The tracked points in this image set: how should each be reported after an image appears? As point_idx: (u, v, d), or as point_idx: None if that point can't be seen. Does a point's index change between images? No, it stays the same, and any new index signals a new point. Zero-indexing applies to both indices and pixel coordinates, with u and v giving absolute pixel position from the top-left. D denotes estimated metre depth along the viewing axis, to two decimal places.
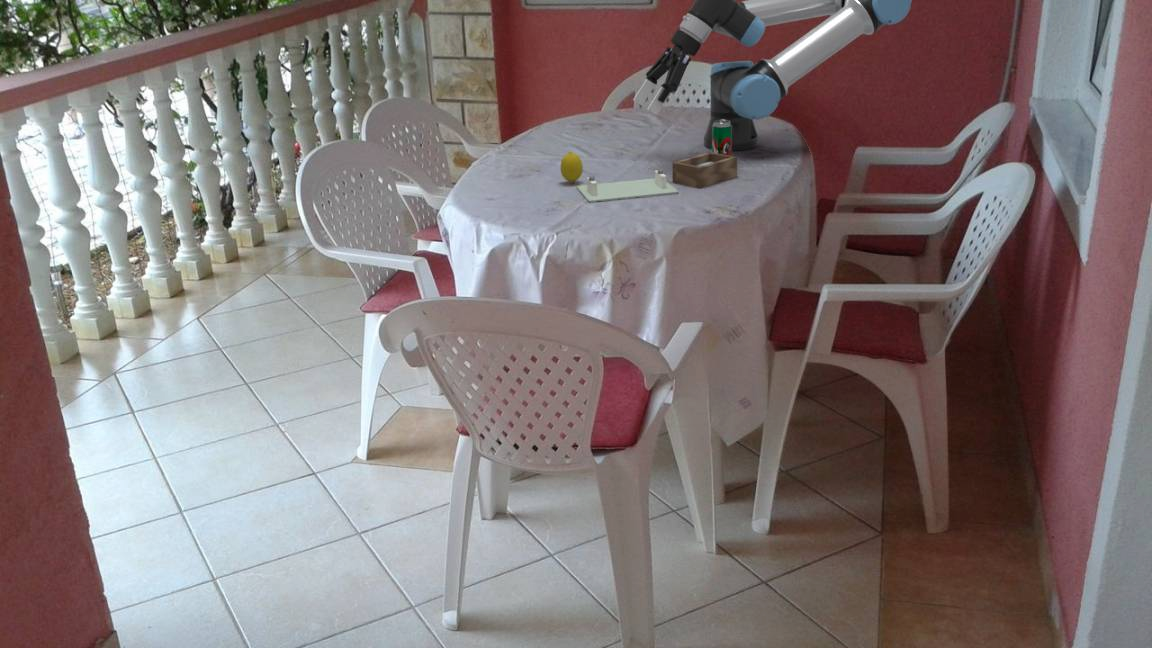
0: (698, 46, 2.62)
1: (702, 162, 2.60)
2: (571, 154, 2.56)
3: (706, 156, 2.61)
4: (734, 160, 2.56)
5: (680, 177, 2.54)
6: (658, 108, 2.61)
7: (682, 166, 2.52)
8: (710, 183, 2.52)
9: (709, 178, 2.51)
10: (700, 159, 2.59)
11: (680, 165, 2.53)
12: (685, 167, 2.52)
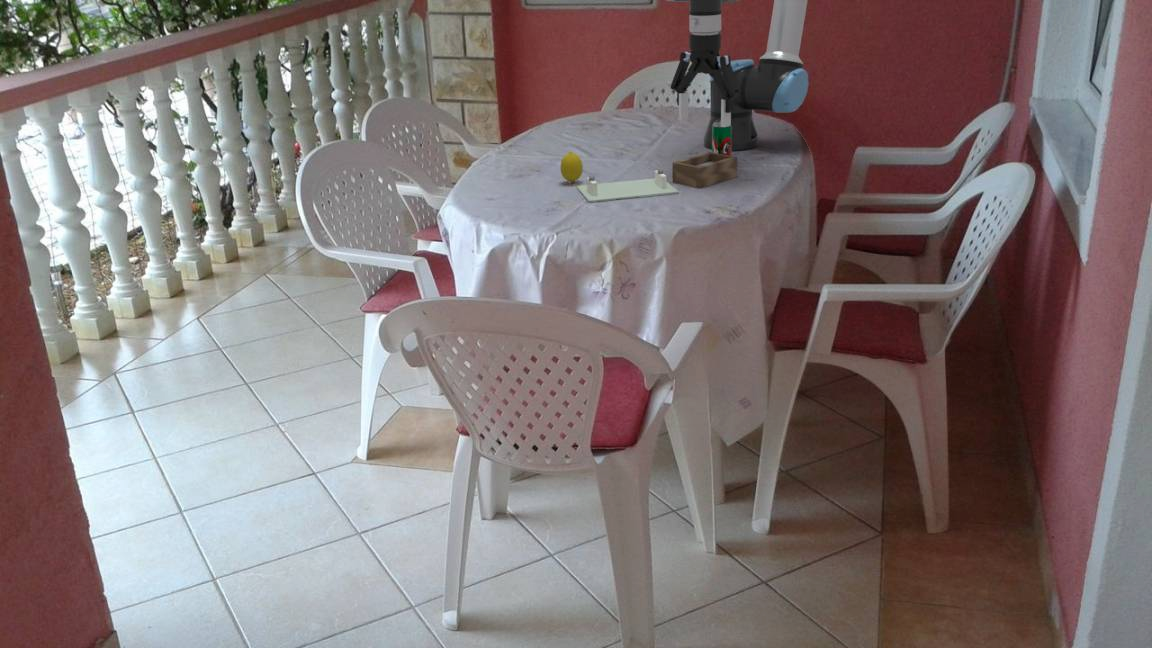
0: (720, 37, 2.44)
1: (702, 162, 2.60)
2: (571, 154, 2.56)
3: (706, 156, 2.61)
4: (734, 160, 2.56)
5: (680, 177, 2.54)
6: (729, 118, 2.47)
7: (682, 166, 2.52)
8: (710, 183, 2.52)
9: (709, 178, 2.51)
10: (700, 159, 2.59)
11: (680, 165, 2.53)
12: (685, 167, 2.52)
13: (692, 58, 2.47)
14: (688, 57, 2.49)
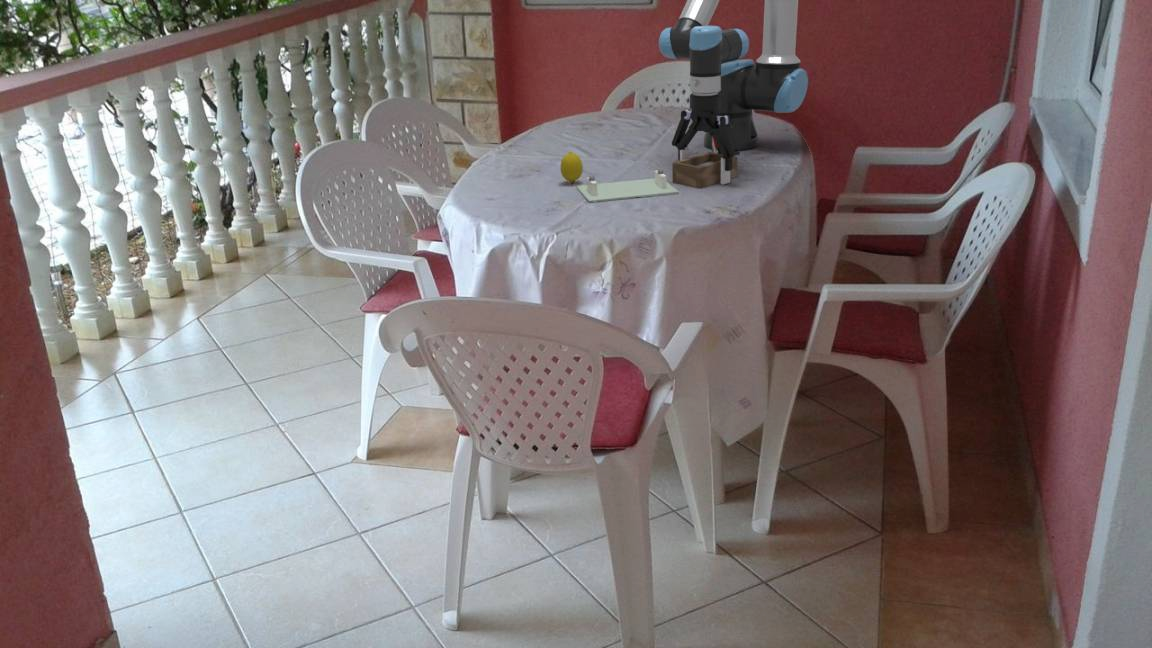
0: (720, 97, 2.49)
1: (702, 162, 2.60)
2: (571, 154, 2.56)
3: (706, 156, 2.61)
4: (734, 160, 2.56)
5: (680, 177, 2.54)
6: (728, 176, 2.52)
7: (682, 166, 2.52)
8: (710, 183, 2.52)
9: (709, 178, 2.51)
10: (700, 159, 2.59)
11: (680, 165, 2.53)
12: (685, 167, 2.52)
13: (692, 116, 2.53)
14: (689, 115, 2.54)
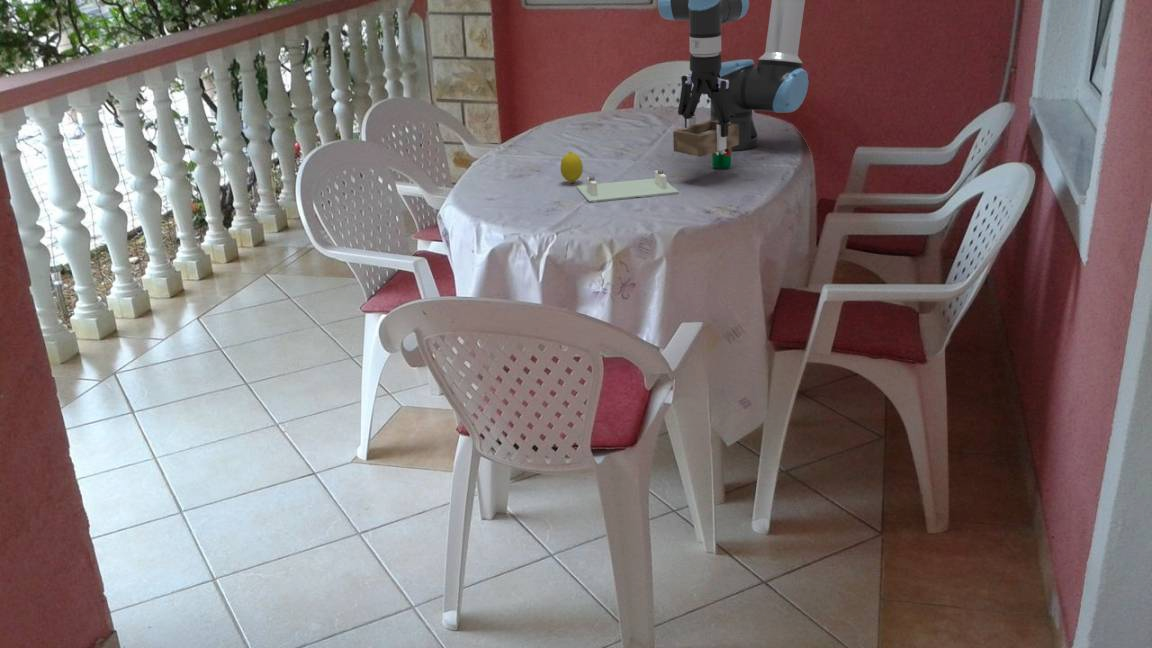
0: None
1: (703, 130, 2.57)
2: (571, 154, 2.56)
3: (707, 124, 2.58)
4: (736, 128, 2.53)
5: (681, 146, 2.51)
6: (725, 142, 2.51)
7: (683, 134, 2.50)
8: (712, 151, 2.50)
9: (710, 146, 2.49)
10: (701, 127, 2.57)
11: (681, 133, 2.50)
12: (686, 136, 2.49)
13: (693, 79, 2.49)
14: (689, 79, 2.51)
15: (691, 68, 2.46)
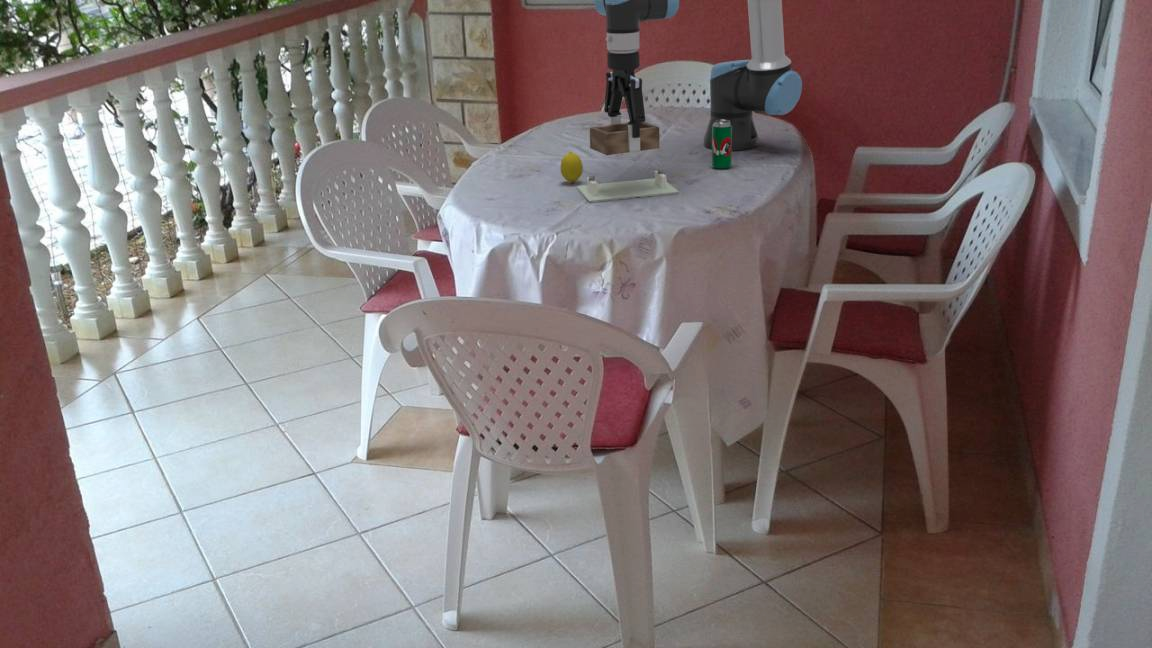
0: (638, 56, 2.37)
1: None
2: (571, 154, 2.56)
3: None
4: (655, 130, 2.43)
5: (594, 143, 2.45)
6: (638, 143, 2.42)
7: (595, 131, 2.43)
8: (621, 151, 2.41)
9: (620, 146, 2.41)
10: (625, 127, 2.49)
11: (594, 130, 2.44)
12: (597, 133, 2.42)
13: (613, 76, 2.42)
14: (612, 76, 2.44)
15: (607, 64, 2.39)
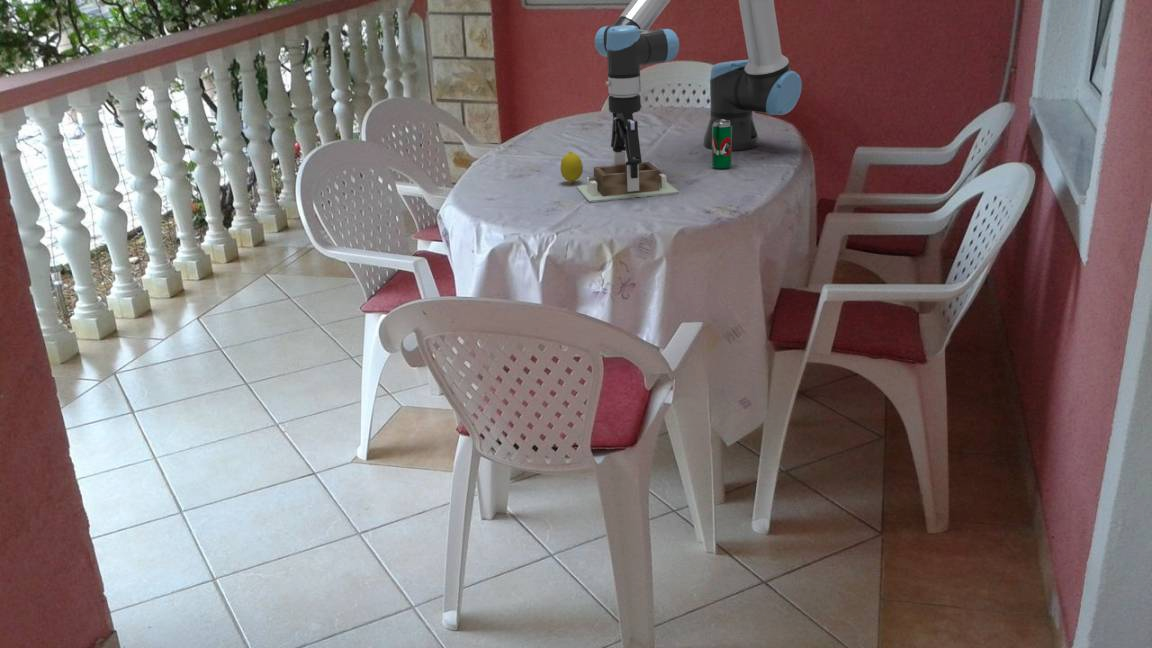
0: (637, 100, 2.40)
1: None
2: (571, 154, 2.56)
3: (639, 165, 2.53)
4: (655, 173, 2.46)
5: None
6: (637, 183, 2.44)
7: (596, 172, 2.49)
8: (618, 193, 2.46)
9: (617, 187, 2.45)
10: None
11: (596, 170, 2.49)
12: (597, 173, 2.48)
13: (617, 118, 2.47)
14: None
15: None
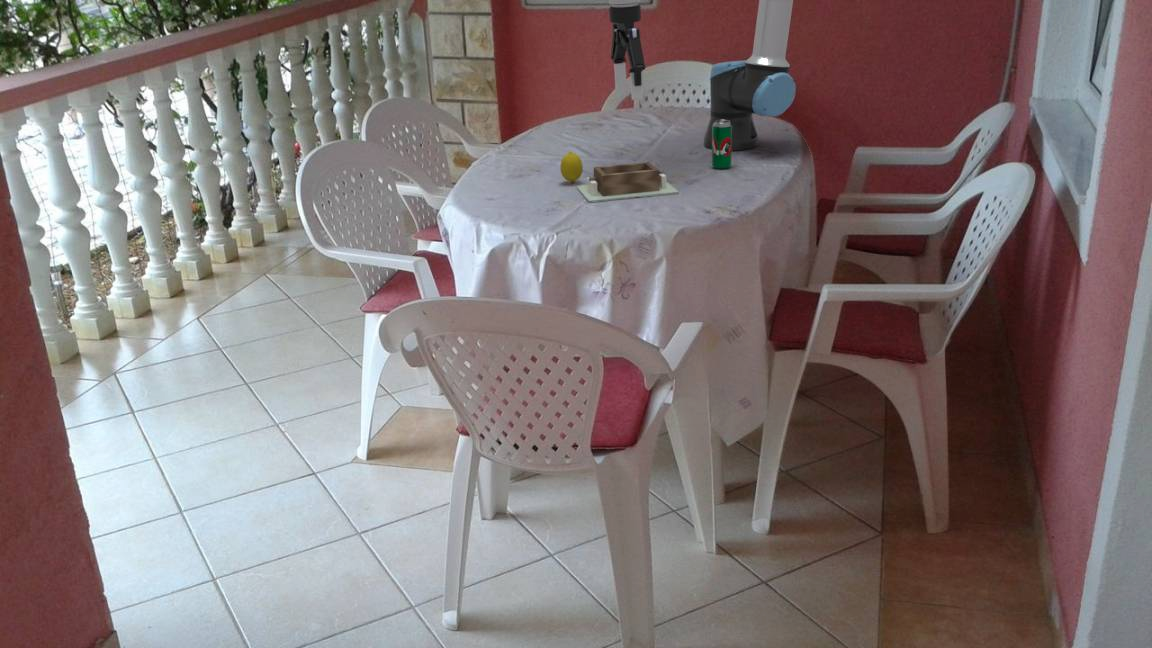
0: (638, 9, 2.43)
1: (633, 171, 2.53)
2: (571, 154, 2.56)
3: (639, 165, 2.53)
4: (655, 173, 2.46)
5: None
6: (641, 91, 2.46)
7: (596, 172, 2.49)
8: (618, 193, 2.46)
9: (617, 187, 2.45)
10: (630, 167, 2.52)
11: (596, 170, 2.49)
12: (597, 173, 2.48)
13: (618, 29, 2.50)
14: None
15: None
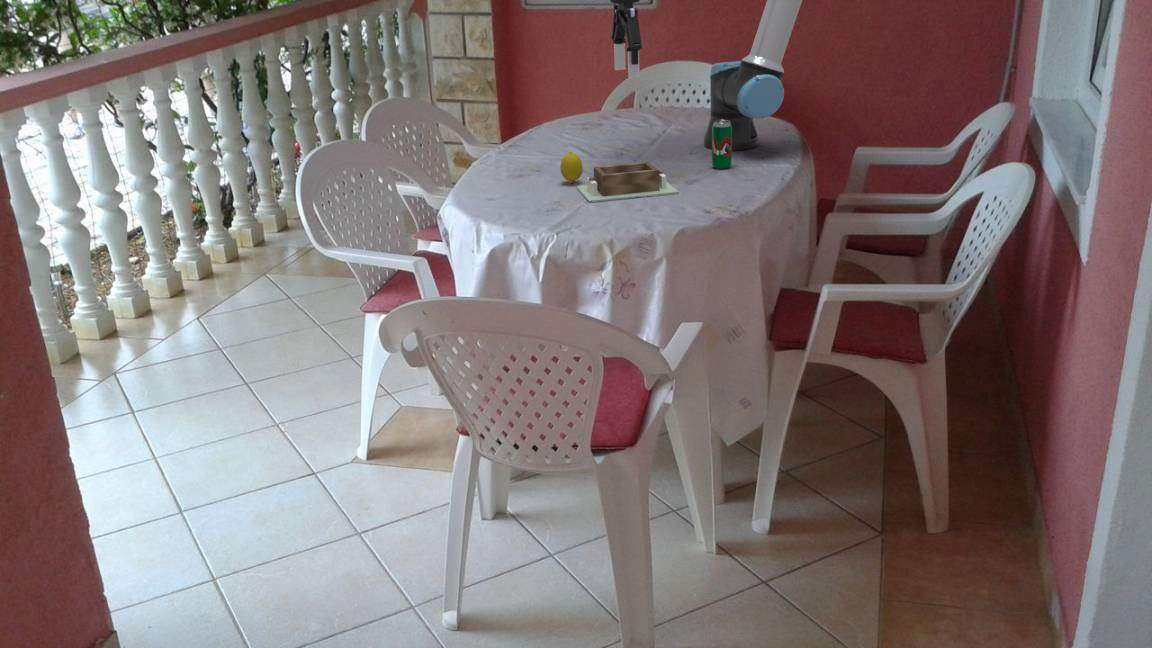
0: None
1: (633, 171, 2.53)
2: (571, 154, 2.56)
3: (639, 165, 2.53)
4: (655, 173, 2.46)
5: None
6: (637, 70, 2.54)
7: (596, 172, 2.49)
8: (618, 193, 2.46)
9: (617, 187, 2.45)
10: (630, 167, 2.52)
11: (596, 170, 2.49)
12: (597, 173, 2.48)
13: (618, 10, 2.57)
14: None
15: None
